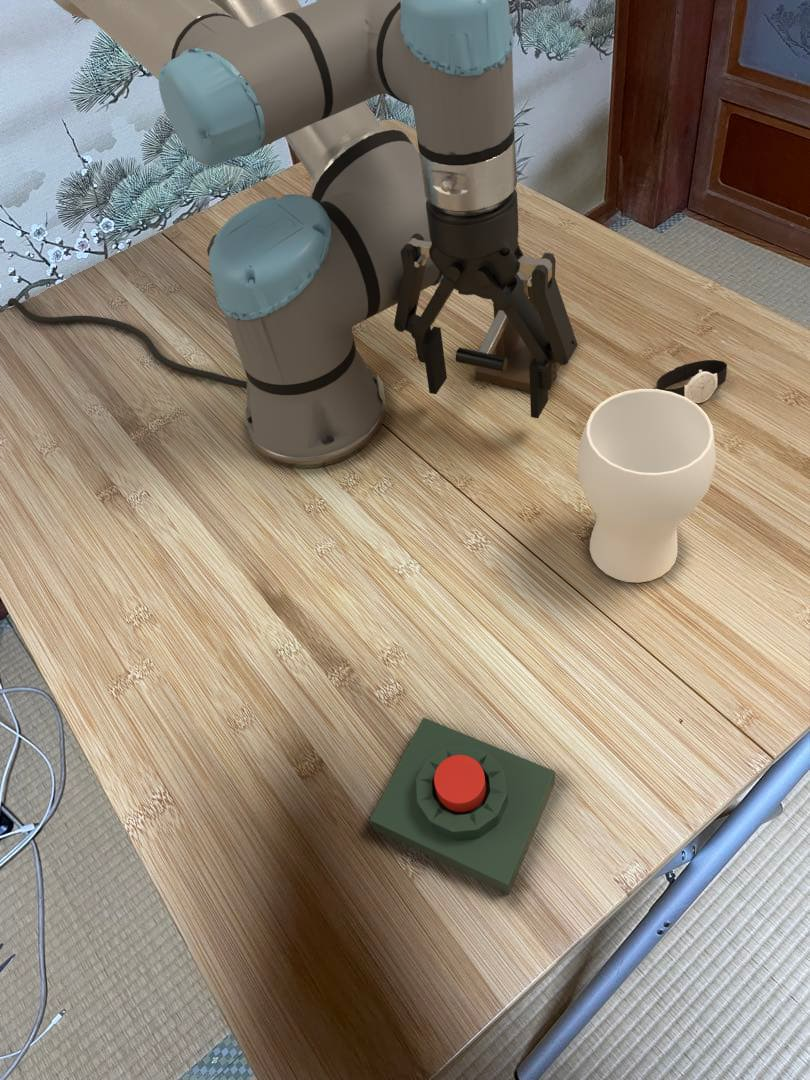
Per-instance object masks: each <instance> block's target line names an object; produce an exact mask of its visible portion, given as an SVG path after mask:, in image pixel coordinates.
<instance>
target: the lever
mask: <svg viewBox="0 0 810 1080" xmlns="http://www.w3.org/2000/svg"><path fill="white" fill-rule="evenodd" d="M517 274H518V276H519V278H520V279H521V281H522V282H523V289H524V292H525V293H526V295H527V297H528V298H529V286H527V284H526V282H527V280H526V277H525V275H524V274H523V273H521V272H518V273H517ZM508 321H509V319H508V317H507V316H506V314H505V313H504V311H503V310H499V311H498V313H497V315H496V317H495V319H494V318H493V321H492V323H491V325H490V327H489V329H488V331H487V333H486V334H485V336H484V338H483V340H482V342H481V343H480V346H479V348H478V350H474V349H469V348H465V347H458V348H457V350H456V352H455V357H454V359H455V362H456V363H459V364H464V365H469V366H473V367H477V368H478V367H481V368H486V369H490V370H495V371H499V372H504V371H505V370H506V368H507V363H508V359H507V358H506V357H502V356H497V355H493V354H492V353H493V351H494V349H495V347H496V345H497V343H498V341H499V339H500V337H501V335H502V333H503V331H504V329H505V327H506V325H507V323H508Z"/></svg>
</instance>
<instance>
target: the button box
mask: <svg viewBox="0 0 810 1080" xmlns="http://www.w3.org/2000/svg"><path fill="white" fill-rule="evenodd" d="M454 755H465V756H469V757H471V758H473V759H474V760H476V761H477V762H478V763H479V764H480V766H481V767H482V769H483V771H484V775H485V782H486V793H485V796H484V799H483V800H482V802H481V803H480V804H479V805H478V806H477V807H476V808H474V809H473V810H470V811H467V812H455V811H452V810H449V809H448V808H446V807H445V806H444V805H443V804H442V803H441V802H440V800H439V798H438V795H437V792H436V788H435V784H434V775H435V772H436V769H437V767H438V766H439V765H440V763H441V762H442V761H444V760H445V759H447V758H448V757H451V756H454ZM555 785H556V771H555V770H554V769H551V768H548V767H545V766H543V765H541V764H538V763H536V762H534V761H531V760H528V759H527V758H524V757H521V756H519V755H516V754H514V753H512V752H509V751H506V750H504V749H501V748H499V747H497V746H494V745H492V744H490V743H487V742H484V741H482V740H480V739H477V738H475V737H472V736H470V735H468V734H465V733H463V732H460V731H458V730H455V729H453V728H451V727H448V726H446V725H443V724H441V723H439V722H436V721H433V720H431V719H428V718H426V717H422V719H421V721H420V723H419V725H418V726H417V729H416V730H415V732H414V734H413V736H412V738H411V739H410V742H409V743H408V746H407V748H406V750H405V751H404V753H403V755H402V756H401V759H400V761H399V763H398V765H397V767H396V769H395V771H394V772H393V774H392V776H391V778H390V780H389V782H388V784H387V786H386V787H385V790H384V791H383V794H382V795H381V797H380V799H379V801H378V803H377V804H376V807H375V809H374V811H373V812H372V814H371V816H370V818H369V822H370V824H371V826H372V829H373V831H375V832H377V833H379V834H381V835H383V836H385V837H387V838H389V839H392V840H394V841H396V842H398V843H400V844H402V845H403V846H406V847H408V848H410V849H413V850H415V851H417V852H419V853H421V854H423V855H425V856H426V857H430V858H431V859H434V860H436V861H438V862H439V863H441V864H444V865H446V866H448V867H450V868H451V869H452V868H453V869H455V870H457V872H458V871H459V872H461V873H463V874H465V875H467V876H469V877H471V878H473V879H475V880H477V881H479V882H481V883H483V884H485V885H488V886H490V887H492V888H494V889H496V890H498V891H500V892H503V893H504V894H507V895H510V894H511V891H512V889H513V887H514V885H515V882H516V880H517V877H518V874H519V872H520V869H521V867H522V865H523V862H524V860H525V857H526V855H527V852H528V851H529V847H530V845H531V843H532V841H533V838H534V835H535V834H536V831H537V829H538V826H539V823H540V821H541V818H542V816H543V813H544V811H545V809H546V806H547V804H548V802H549V799H550V797H551V794H552V791H553V790H554V787H555Z"/></svg>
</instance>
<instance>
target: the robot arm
mask: <svg viewBox="0 0 810 1080" xmlns="http://www.w3.org/2000/svg"><path fill="white" fill-rule="evenodd" d="M53 1H54V2H55V3H56V4H57V5H58V6H59V7H60V8H61V9H63V10H64V11H66V12H67V13H69V14H71V15H72V16H75V17H77V18H81V19H83V20H91V21H92V22H93V23H94V24H95V25H97V26H98V27H99V28H100V29H101V30H102V31H103V32H104V33H105V34H107V35H108V36H109V37H110V38H111V39H112V40H113V41H114V42H115V43H116V44H117V45H118V46H120V47H121V48H122V49H123V50H124V51H125V52H126V53H127V54H128V55H130V56H131V57H132V59H134V60H135V61H136V62H137V63H139V64H140V65H141V66H142V67H143V68H144V69H145V70H147V71H148V72H149V74H151V75H152V76H153V77H154V78H155V79H156V80H157V81H158V88H159V94H160V98H161V101H162V105H163V107H164V110H165V112H166V116H167V118H168V121H169V122H170V125H171V127H172V129H173V131H174V133H175V134H176V136H177V138H178V139H179V140H180V141H181V142H182V144H183V146H184V148H185V150H186V152H187V153H188V154H189V155H190V156H191V157H192V158H193V159H194V160H195V161H196V162H198V163H199V164H202V165H205V166H216V165H219V164H222V163H225V162H228V161H230V160H233V159H236V158H238V157H248V156H250V155H252V154H253V153H255V152H257V151H259V149H261V148H263V147H265V146H267V145H269V144H272V143H274V142H276V141H278V140H280V139H282V138H284V139H285V140H286V141H287V143H288V145H289V146H290V148H291V149H292V151H293V152H294V154H295V155H296V157H297V159H298V160H299V162H300V163H301V164H302V166H303V167H304V169H305V170H306V172H307V173H308V175H309V176H310V178H311V179H312V184H311V189H310V193H309V196H307V195H303V194H298V193H289V194H287V193H286V194H283V195H282V196H281V197H280V198H276V197H275V196H270V197H266V198H263V199H260V200H258V201H255V202H253V203H252V204H249V205H248V206H246V207H244V208H242V209H241V210H238V212H236V213H235V214H234V215H233V216H231V217H230V218H229V219H228V220H227V221H226V222H225V223H224V224H223V225H222V227H220V229H219V230H218V232H217V233H216V234H217V235H216V234H215V235H216V237H215V239H214V244H213V245H212V247H211V249H210V253H209V256H208V268H209V271H210V275H211V279H212V283H213V287H214V294H215V298H216V302H217V305H218V307H219V308H220V310H221V311H222V313H223V315H224V319H225V321H226V324H227V327H228V328H229V332H230V335H231V338H232V340H233V342H234V343H233V344H234V345H235V348H236V351H237V354H238V357H239V358H240V362H241V364H242V365H241V366H242V367H243V370H244V373H245V376H246V380H242V379H237V378H234V377H229V376H227V375H222V374H219V373H215V372H211V371H207V370H202V369H198V368H194V367H190V366H186V365H183V364H180V363H178V362H175V361H173V360H171V359H169V358H167V357H165V356H164V355H163V354H162V353H161V352H159V350H158V349H157V347H156V346H155V344H154V343H153V341H152V340H151V338H149V336H148V335H147V334H146V333H145V332H143V331H142V330H141V329H139V328H137V327H135V326H133V325H131V324H129V323H126V322H123V321H120V320H116V319H112V318H106V317H103V316H102V317H100V316H94V315H67V316H41V315H37V314H34V313H33V312H31V311H30V310H28V309H27V308H26V307H25V306H23V304H22V303H21V302H20V301H19V300H18V299H16V298H14V297H11V298H9V299H8V300H7V306H8V307H13V306H14V307H15V308H16V309H17V310H18V311H19V312H20V313H21V314H22V315H23V316H24V317H26V318H27V319H29V320H30V321H33V322H37V323H41V324H66V323H93V324H101V325H107V326H110V327H111V326H112V327H114V328H115V327H116V328H119V329H122V330H123V331H127V332H129V333H130V334H133V335H134V336H136V337H138V338H139V339H140V340H142V342H143V343H144V344H145V346H146V347H147V349H148V350H149V352H150V353H151V355H152V356H153V357H154V358H155V359H156V360H157V361H158V362H159V363H160V364H162V365H164V366H166V367H167V368H170V369H172V370H173V371H176V372H180V373H183V374H186V375H191V376H195V377H200V378H202V379H203V378H204V379H208V380H211V381H214V382H218V383H222V384H226V385H229V386H234V387H236V388H240V389H245V390H246V397H245V398H246V400H245V405H246V407H245V423H246V427H247V431H248V434H249V437H250V439H251V441H252V444H253V445H254V447H255V449H256V450H257V451H258V452H259V454H261V456H263V457H265V458H266V459H268V460H269V461H271V462H273V463H275V464H278V465H282V466H285V467H291V468H301V469H309V468H318V467H319V468H320V467H325V466H329V465H331V464H335V463H338V462H341V461H343V460H346V459H348V458H349V457H352V456H353V455H355V454H357V453H358V452H360V451H361V450H363V449H364V448H365V447H366V446H367V445H369V444H370V443H371V442H372V441H373V440H374V439H375V437H377V435H378V433H379V432H380V431H381V429H382V427H383V424H384V422H385V418H386V412H387V408H386V405H387V403H386V396H385V389H384V388H385V387H384V382H383V380H382V379H381V378H380V376H379V374H378V373H376V375H375V374H374V372H372V371H371V369H369V368H368V365H367V363H366V361H365V360H364V358H363V356H362V355H361V353H360V352H359V350H358V349H357V346H356V341H355V337H354V334H353V327H355V326H356V325H359V324H360V323H362V322H364V321H365V320H368V319H370V318H372V317H374V316H376V315H378V314H380V313H382V312H384V311H386V310H388V309H389V308H391V307H393V306H395V305H397V306H396V309H395V311H396V312H395V317H394V321H393V327H394V329H395V330H396V331H398V332H400V333H402V332H405V331H406V332H407V333H409V334H410V335H411V338H412V339H413V340H414V343H415V350H416V358H417V359H418V362H419V363H423V364H424V367H425V373H426V381H427V386H428V392H429V394H432V395H435V396H436V395H437V394H438V392H439V391H440V389H441V388H442V386H443V385H444V383H445V382H446V380H447V379H448V377H447V376H448V374H447V368H446V359H445V353H444V345H443V336H442V329H441V327H439V326H433V324H434V323H435V321H436V319H437V317H438V316H439V314H440V313H441V311H442V309H443V308H444V307H445V304H446V303H447V301H448V299H450V297H451V295H452V293H453V292H454V290H455V291H458V292H457V293H458V295H463V296H472V295H474V296H477V297H478V298H481V299H485V300H491V302H492V304H493V303H494V305H495V306H496V308H497V309H498V310H503V311H504V313H505V314H506V316H507V317H508V319H509V320H510V322H511V323H512V325H513V326H514V328H515V329H516V331H517V332H518V334H519V335H520V337H521V338H522V340H523V342H524V343H525V345H526V346H527V348H528V349H529V351H530V352H531V354H532V355H533V357H534V359H533V360H532V362H531V364H530V365H529V372H530V392H529V398H530V399H529V402H530V418H533V419H538V420H539V418H540V416H541V414H542V412H544V409H545V407H546V406H547V404H548V402H549V391H550V390H551V389H552V387H553V386H554V383H555V382H556V380H557V378H558V371H557V363H559V364H561V366H565V365H567V364H568V363H569V362H570V360H571V358H572V356H573V354H574V352H575V351H576V349H577V348H578V341H577V339H576V336H575V333H574V329H573V326H572V323H571V320H570V318H569V314H568V312H567V308H566V306H565V303H564V300H563V297H562V294H561V292H560V291H561V290H560V288H559V286H558V282H557V280H556V262H557V261H556V258H555V255H554V256H553V255H552V254H553V253H552V254H549V253H550V252H546V254H544V253H543V255H542V256H543V257H542V256H541V257H540V258H538V257H532V256H526V255H524V252H523V251H522V249H521V247H520V244H519V208H518V207H519V205H518V193H517V190H516V187H517V184H518V174H517V173H518V172H517V157H516V140H515V138H516V137H515V105H514V104H515V102H514V100H515V99H514V67H513V61H514V59H513V47H514V42H515V41H514V40H515V38H514V32H513V26H512V25H511V16H510V15H511V14H510V5H509V0H316V1H314V2H311V3H309V4H307V5H304V6H302V5H301V4H300V2H299V0H53ZM380 95H387V96H389V97H390V98H393V99H395V100H396V101H399V102H400V103H402V104H405V105H408V106H411V107H412V111H413V117H414V125H415V130H416V139H417V147H418V148H416V147H415V146H414V144H413V142H412V141H411V140H410V138H409V137H408V135H407V134H406V133H405V131H403V130H402V129H400V128H399V127H392V126H382V125H381V123H380V122H379V121H378V119H377V117H376V116H375V114H374V113H373V112H372V110H371V108H370V107H369V105H368V103H366V101H368V100H370V99H373V98H375V97H377V96H380ZM417 149H418V150H417ZM518 272H521V273H523V274H524V275H525V277H526V280H527V282H526V284H527V286H529V287H532V295H533V299H534V302H535V304H536V307H537V310H538V312H537V311H536V309H535V308H534V306H533V304H532V303H531V301H530V300H529V297H527V295H526V293H525V292H524V289H523V282H522V281H521V279H520V278H519V276H518V274H517V273H518ZM437 285H438V286H437ZM434 286H437V287H436V289H435V291H434V293H433V295H432V296H431V298H430V300H429V301H428V303H427V305H426V306H425V309H424V310H423V312H422V313H421V315H419V314H417V311H418V305H419V300H420V295H421V292H422V291H424V290H426V289H428V288H430V287H434ZM506 286H507V289H506V290H505V292H503V289H504V288H505V287H506ZM538 313H539V314H538ZM431 326H433V327H431Z"/></svg>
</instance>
